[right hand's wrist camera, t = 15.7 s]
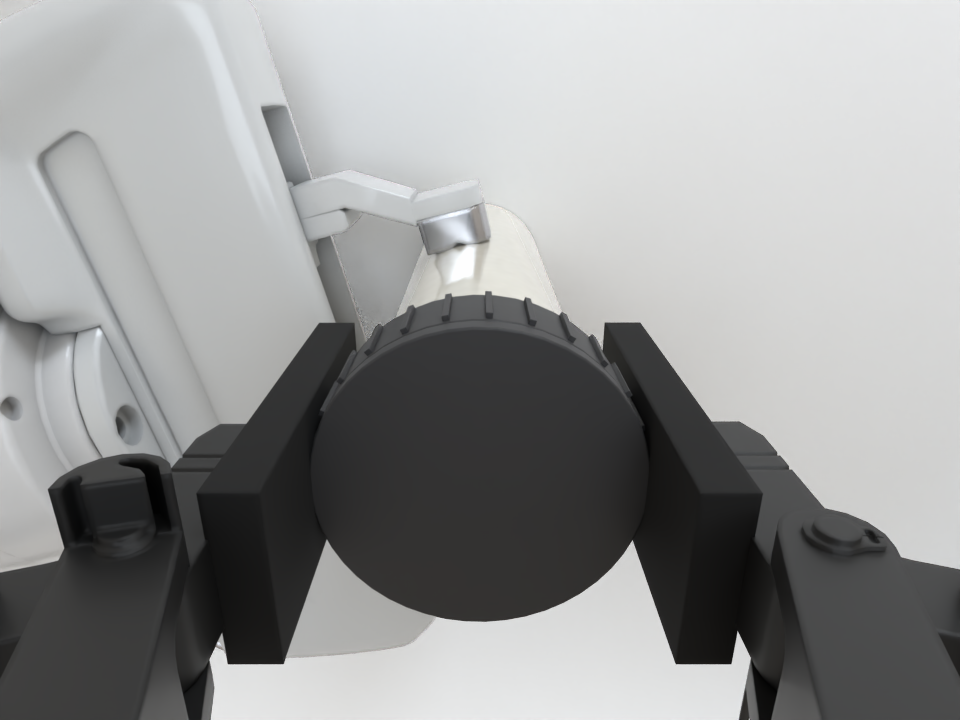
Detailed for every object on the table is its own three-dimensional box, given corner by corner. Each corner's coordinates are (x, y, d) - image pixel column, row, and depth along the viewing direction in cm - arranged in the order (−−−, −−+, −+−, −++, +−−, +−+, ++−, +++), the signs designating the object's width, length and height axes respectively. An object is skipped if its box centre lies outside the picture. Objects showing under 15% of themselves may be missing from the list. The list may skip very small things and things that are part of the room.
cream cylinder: (399, 243, 25) (292, 431, 11) (499, 179, 24) (528, 293, 10) (461, 337, 26) (440, 614, 12) (558, 280, 25) (658, 507, 11)
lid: (413, 596, 13) (404, 665, 12) (270, 366, 12) (235, 411, 10) (671, 500, 13) (701, 559, 11) (562, 235, 11) (578, 259, 9)
